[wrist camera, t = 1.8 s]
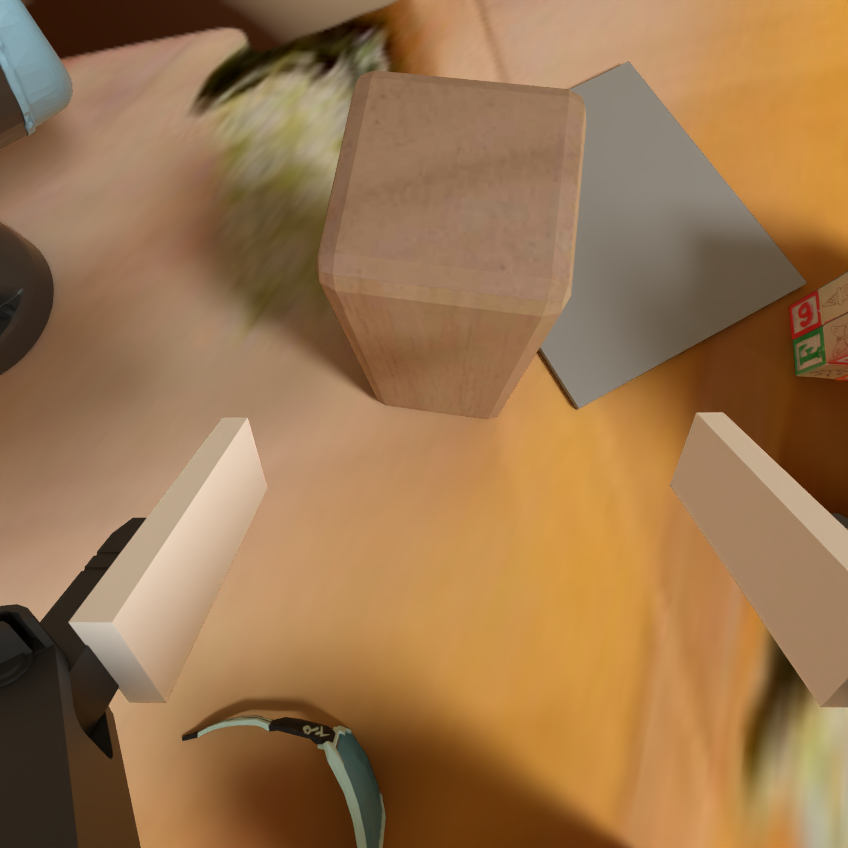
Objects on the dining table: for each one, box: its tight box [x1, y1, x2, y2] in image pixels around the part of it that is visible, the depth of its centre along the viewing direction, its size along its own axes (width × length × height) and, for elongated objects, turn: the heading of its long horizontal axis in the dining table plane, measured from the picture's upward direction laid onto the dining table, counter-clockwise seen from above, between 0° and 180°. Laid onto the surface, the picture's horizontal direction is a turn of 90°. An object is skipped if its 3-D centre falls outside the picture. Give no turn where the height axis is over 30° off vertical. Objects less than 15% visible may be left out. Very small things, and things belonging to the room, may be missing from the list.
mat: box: [539, 61, 807, 410], centre depth 38 cm, size 26×22×1 cm
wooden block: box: [316, 71, 586, 419], centre depth 27 cm, size 10×10×20 cm
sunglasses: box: [182, 716, 386, 848], centre depth 29 cm, size 14×15×5 cm
